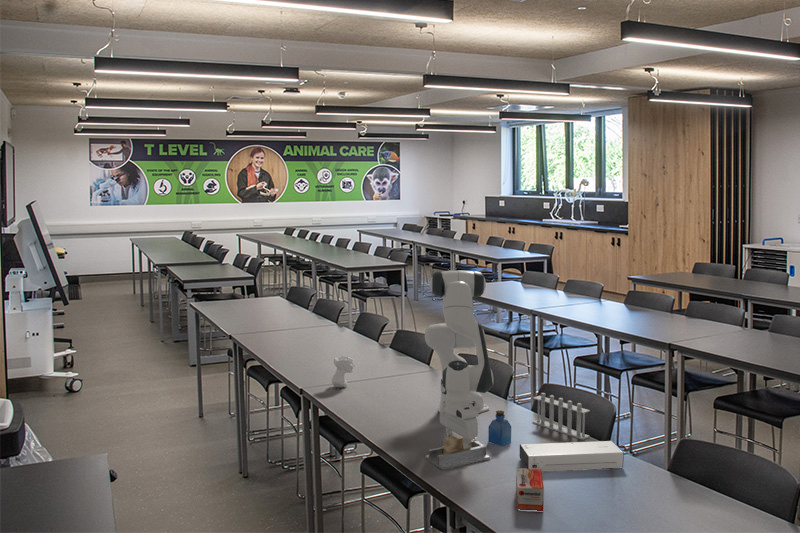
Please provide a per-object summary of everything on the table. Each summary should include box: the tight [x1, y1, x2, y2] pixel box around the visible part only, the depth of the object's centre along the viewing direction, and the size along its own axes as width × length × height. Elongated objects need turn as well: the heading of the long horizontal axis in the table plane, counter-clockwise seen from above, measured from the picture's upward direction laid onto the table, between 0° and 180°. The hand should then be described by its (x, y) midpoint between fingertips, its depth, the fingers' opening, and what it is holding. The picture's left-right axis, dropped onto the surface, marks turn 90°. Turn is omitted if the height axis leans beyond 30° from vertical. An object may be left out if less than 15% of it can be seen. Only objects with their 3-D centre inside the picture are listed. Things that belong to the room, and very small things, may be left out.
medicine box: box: [515, 467, 545, 512], centre depth 214 cm, size 15×8×8 cm, turn 172°
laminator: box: [519, 440, 625, 472], centre depth 242 cm, size 34×12×6 cm, turn 95°
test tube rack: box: [531, 392, 591, 441], centre depth 275 cm, size 25×4×13 cm, turn 40°
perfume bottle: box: [487, 410, 512, 447], centre depth 263 cm, size 6×6×12 cm
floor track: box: [425, 439, 491, 471], centre depth 247 cm, size 20×12×4 cm, turn 118°
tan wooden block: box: [443, 434, 472, 454], centre depth 247 cm, size 10×3×7 cm, turn 118°
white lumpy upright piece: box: [331, 355, 355, 388], centre depth 335 cm, size 10×11×15 cm
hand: (457, 443), depth 247 cm, fingers open, 8 cm apart
